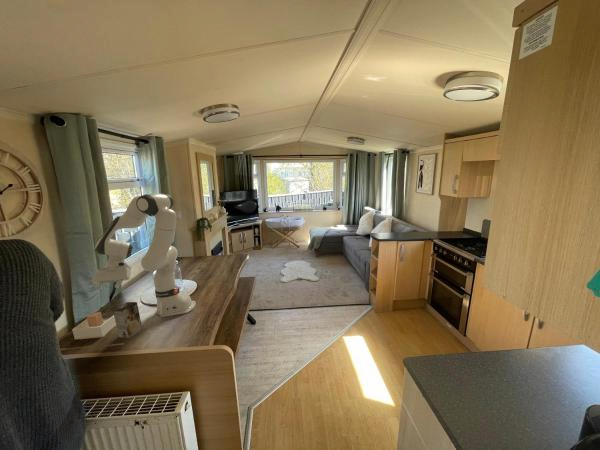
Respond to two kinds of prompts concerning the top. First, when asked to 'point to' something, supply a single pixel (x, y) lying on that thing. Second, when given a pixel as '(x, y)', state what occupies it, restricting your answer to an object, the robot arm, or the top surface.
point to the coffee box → (127, 319)
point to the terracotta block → (95, 319)
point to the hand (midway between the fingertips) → (108, 288)
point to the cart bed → (93, 329)
